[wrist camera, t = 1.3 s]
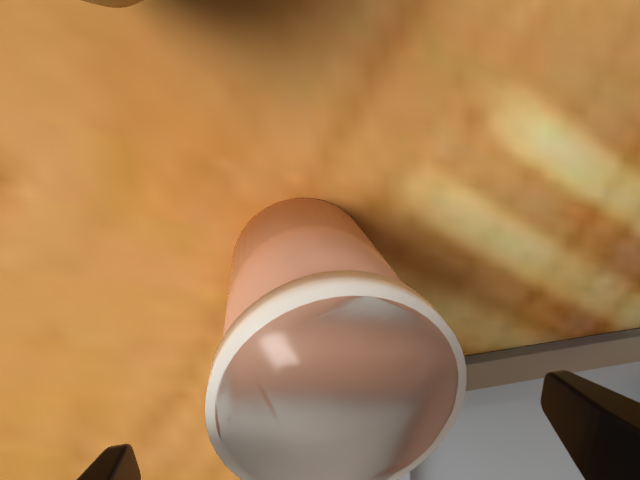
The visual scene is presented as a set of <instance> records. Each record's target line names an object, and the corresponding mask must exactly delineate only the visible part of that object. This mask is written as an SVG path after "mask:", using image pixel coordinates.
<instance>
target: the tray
mask: <svg viewBox="0 0 640 480" xmlns="http://www.w3.org/2000/svg"><path fill="white" fill-rule="evenodd" d="M464 358H465V365H466V390H465V396H464V400H463V403H462V406H461V410H460V412H459V414H458V416H457V419H456V421H455V423H454V425H453V426H452V428H451V430H450V431H449V433H448V434H447V436H446V437H445V438H444V440H443V441H442V442H441V444H440V445H439V446H438V447H437V448H436V449H435V450H434V451H433V452H432V453H431V454H430V456H429V457H427V458H426V459H425V460H424V461H423V462H422V463H420V464H419V465H418V466H417V467H415V468H414V469H413V470H411V471H410V472H408V473H407V474H405V475H404V476H402V477H400V478H399V479H397V480H585V479H584V477H583V476H582V474H581V473H580V471H579V469H578V468H577V466H576V465H575V463H574V461H573V460H572V458H571V456H570V455H569V453H568V452H567V450H566V448H565V447H564V445H563V443H562V442H561V440H560V438H559V437H558V435H557V433H556V432H555V430H554V428H553V427H552V425H551V424H550V422H549V420H548V419H547V417H546V415H545V414H544V412H543V410H542V407H541V401H540V400H541V394H542V388H543V382H544V377H545V375H546V374H547V373H548V372H552V371H558V370H567V371H569V372H572V373H574V374H576V375H578V376H581V377H583V378H585V379H588V380H590V381H592V382H594V383H597V384H599V385H601V386H603V387H606V388H608V389H610V390H612V391H615V392H617V393H619V394H621V395H624V396H626V397H628V398H631V399H633V400H635V401H637V402H640V328H637V329H630V330H624V331H618V332H612V333H606V334H600V335H593V336H587V337H581V338H575V339H569V340H563V341H556V342H550V343H544V344H538V345H532V346H526V347H519V348H513V349H507V350H501V351H495V352H489V353H483V354H476V355H470V356H464Z"/></svg>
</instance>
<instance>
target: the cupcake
mask: <svg viewBox="0 0 640 480" xmlns="http://www.w3.org/2000/svg"><path fill="white" fill-rule="evenodd" d="M82 1H86V2H90V3H94V4H98V5H102V6H106V7H113V8H122V7H128V6H131V5H134V4H136V3H139V2H141V1H142V0H82Z"/></svg>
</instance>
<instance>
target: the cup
mask: <svg viewBox="0 0 640 480" xmlns="http://www.w3.org/2000/svg"><path fill="white" fill-rule="evenodd" d="M465 390H466V365H465V358H464V355H463V352H462V349H461V346H460V344H459V342H458V340H457V338H456V336H455V334H454V332H453V331H452V330H451V328H450V327H449V326H448V325H447V323H446V322H445V321H444V319H443V318H442V317H441V316H440V315H439V314H438V312H437V311H436V310H435V309H434V308H433V306H432V305H431V304H430V303H429V302H428V301H427V300H426V299H425V298H424V297H423V296H422V295H421V294H419V293H418V292H416V291H415V290H414V289H412V288H411V287H409V286H408V285H406V284H404V283H403V282H402V281H401V280H400V278H399V277H398V276H397V275H396V273H395V272H394V271H393V269H392V268H391V267H390V266H389V264H388V263H387V262H386V261H385V259H384V258H383V257H382V256H381V254H380V253H379V252H378V250H377V249H376V248H375V247H374V245H373V244H372V243H371V242H370V240H369V239H368V238H367V236H366V235H365V234H364V233H363V231H362V230H361V229H360V228H359V226H358V225H357V224H356V222H355V221H354V220H353V219H352V218H351V217H350V216H349V215H348V214H347V213H346V212H344V211H343V210H342V209H340V208H339V207H337V206H335V205H333V204H331V203H328V202H325V201H322V200H318V199H312V198H294V199H289V200H284V201H281V202H278V203H275V204H273V205H271V206H269V207H267V208H265V209H264V210H262V211H261V212H259V213H258V214H257V215H256V216H254V217H253V218H252V219H251V220H250V221H249V222H248V224H247V225H246V226H245V228H244V229H243V230H242V232H241V234H240V236H239V238H238V240H237V242H236V245H235V248H234V253H233V259H232V267H231V276H230V284H229V292H228V300H227V308H226V317H225V325H224V333H223V338H222V340H221V342H220V343H219V345H218V347H217V350H216V352H215V355H214V358H213V360H212V365H211V370H210V374H209V381H208V387H207V394H206V401H205V419H206V427H207V431H208V434H209V437H210V441H211V443H212V445H213V447H214V449H215V451H216V453H217V455H218V456H219V457H220V459H221V460H222V461H223V463H224V464H225V465H226V466H227V467H228V468H229V469H230V470H231V471H232V472H233V473H234V474H235V475H236V476H238V477H239V478H240V479H242V480H397V479H399V478H400V477H402V476H404V475H405V474H407V473H408V472H410V471H411V470H413V469H414V468H415V467H417V466H418V465H419V464H420V463H422V462H423V461H424V460H425V459H426V458H427V457H429V456H430V454H431V453H432V452H433V451H434V450H435V449H436V448H437V447H438V446H439V445H440V444H441V442H442V441H443V440H444V438H445V437H446V436H447V434H448V433H449V431H450V430H451V428H452V426H453V425H454V423H455V421H456V419H457V416H458V414H459V412H460V410H461V406H462V403H463V400H464V396H465Z"/></svg>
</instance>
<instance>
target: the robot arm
mask: <svg viewBox="0 0 640 480" xmlns="http://www.w3.org/2000/svg"><path fill="white" fill-rule="evenodd" d="M540 401H541V407H542V410H543V412H544V414H545V415H546V417H547V419H548V420H549V422H550V424H551V425H552V427H553V428H554V430H555V432H556V433H557V435H558V437H559V438H560V440H561V442H562V443H563V445H564V447H565V448H566V450H567V452H568V453H569V455H570V456H571V458H572V460H573V461H574V463H575V465H576V466H577V468H578V469H579V471H580V473H581V474H582V476H583V477H584V479H585V480H640V402H637V401H635V400H633V399H631V398H628V397H626V396H624V395H621V394H619V393H617V392H615V391H612V390H610V389H608V388H606V387H603V386H601V385H599V384H597V383H594V382H592V381H590V380H588V379H585V378H583V377H581V376H578V375H576V374H574V373H572V372H569V371H567V370H558V371H552V372H548V373H547V374H546V375H545V377H544V382H543V388H542V394H541V400H540ZM77 480H141V475H140V470H139V467H138V464H137V461H136V458H135V455H134V451H133V449H132V446H131V445H129V444H122V445H116V446H111V447H108V448H107V449H105V450H104V451H103V452H102V453H101V454H100V455H99V456H98V458H97V459H96V460H95V461H94V462H93V463H92V464H91V465H90V466H89V467H88V468H87V469H86V470H85V471H84V472H83V473H82V475H81V476H80V477H79V478H78V479H77Z"/></svg>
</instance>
